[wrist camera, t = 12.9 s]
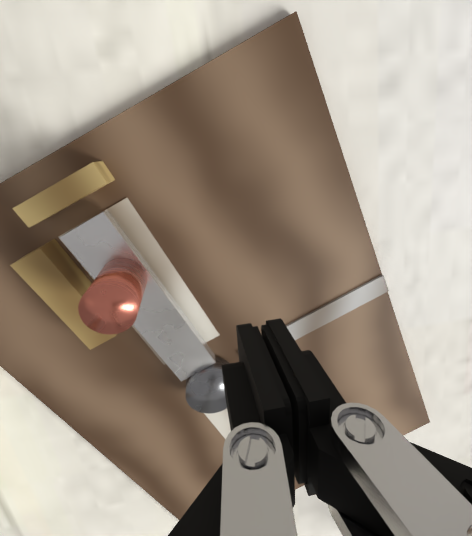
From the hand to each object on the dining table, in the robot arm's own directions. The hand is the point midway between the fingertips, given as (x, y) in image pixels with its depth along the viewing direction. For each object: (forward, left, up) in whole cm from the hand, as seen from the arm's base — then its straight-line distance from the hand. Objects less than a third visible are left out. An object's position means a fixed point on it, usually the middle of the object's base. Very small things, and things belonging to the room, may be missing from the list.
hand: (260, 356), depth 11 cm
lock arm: (-6, -2, -10) cm, 12 cm away
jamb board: (-4, -8, -11) cm, 15 cm away
